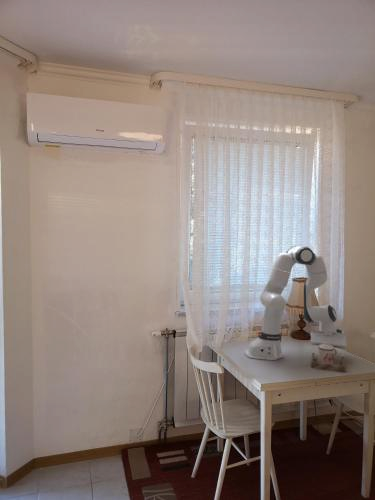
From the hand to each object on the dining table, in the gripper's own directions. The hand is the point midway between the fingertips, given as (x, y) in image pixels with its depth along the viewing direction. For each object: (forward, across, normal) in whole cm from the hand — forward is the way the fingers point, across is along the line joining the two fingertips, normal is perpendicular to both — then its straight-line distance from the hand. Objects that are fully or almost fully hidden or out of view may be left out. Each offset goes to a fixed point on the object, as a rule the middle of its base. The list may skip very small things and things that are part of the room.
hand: (328, 352), depth 213 cm
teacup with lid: (+5, 0, +2) cm, 5 cm away
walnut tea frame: (+8, 0, -1) cm, 8 cm away
